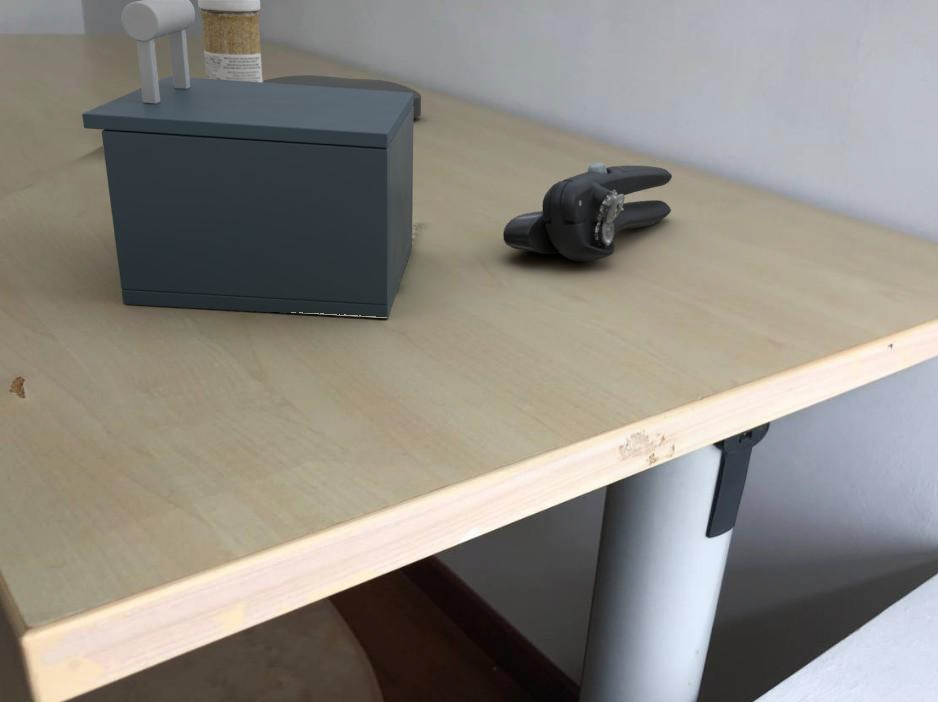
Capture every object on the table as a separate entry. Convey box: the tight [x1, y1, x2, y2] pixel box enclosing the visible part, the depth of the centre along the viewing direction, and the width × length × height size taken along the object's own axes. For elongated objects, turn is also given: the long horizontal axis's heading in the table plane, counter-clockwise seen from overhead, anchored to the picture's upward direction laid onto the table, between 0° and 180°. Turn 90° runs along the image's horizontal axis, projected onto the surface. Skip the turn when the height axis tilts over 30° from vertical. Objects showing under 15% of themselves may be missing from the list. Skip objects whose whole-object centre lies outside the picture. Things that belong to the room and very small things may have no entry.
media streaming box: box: [263, 74, 422, 119], centre depth 101 cm, size 15×15×3 cm
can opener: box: [502, 162, 673, 262], centre depth 66 cm, size 18×7×6 cm, turn 147°
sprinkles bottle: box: [197, 0, 264, 82], centre depth 78 cm, size 5×5×14 cm
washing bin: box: [101, 106, 415, 318], centre depth 55 cm, size 14×13×9 cm
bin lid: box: [81, 0, 414, 148], centre depth 51 cm, size 14×13×6 cm
